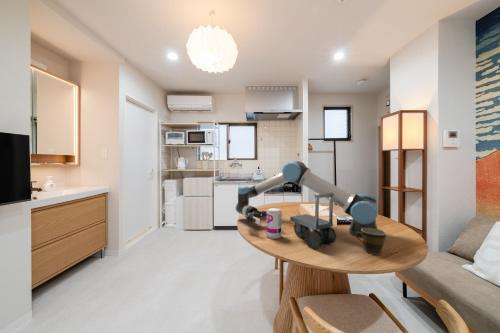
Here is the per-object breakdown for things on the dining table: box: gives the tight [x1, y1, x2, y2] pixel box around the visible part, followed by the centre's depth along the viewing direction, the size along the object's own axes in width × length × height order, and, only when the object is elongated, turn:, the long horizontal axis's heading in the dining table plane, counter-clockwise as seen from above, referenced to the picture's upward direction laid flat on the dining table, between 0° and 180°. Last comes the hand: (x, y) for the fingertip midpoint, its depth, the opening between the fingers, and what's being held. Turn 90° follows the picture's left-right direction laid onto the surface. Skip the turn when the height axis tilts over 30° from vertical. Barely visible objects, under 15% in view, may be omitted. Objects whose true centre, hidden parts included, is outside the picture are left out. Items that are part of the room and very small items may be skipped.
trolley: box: [289, 193, 337, 250], centre depth 111 cm, size 22×12×26 cm, turn 31°
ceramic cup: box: [354, 228, 387, 256], centre depth 99 cm, size 13×10×10 cm
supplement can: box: [265, 207, 283, 240], centre depth 118 cm, size 8×8×15 cm
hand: (269, 220), depth 120 cm, fingers open, 13 cm apart
